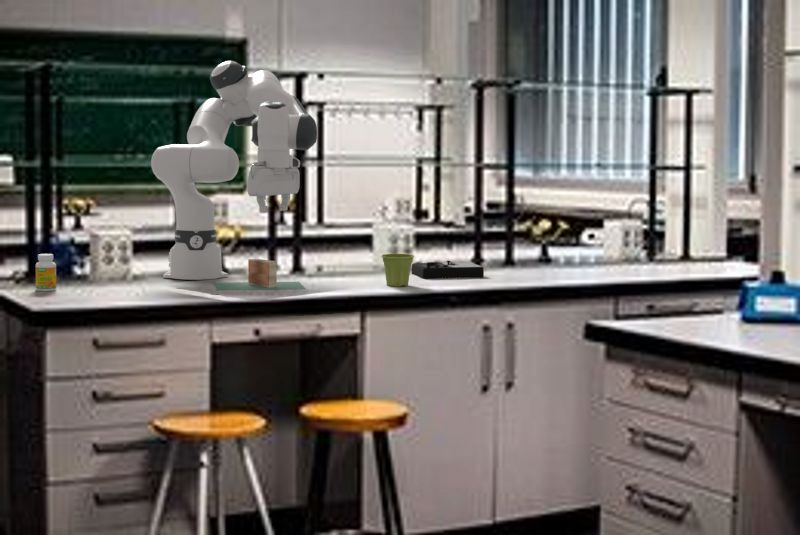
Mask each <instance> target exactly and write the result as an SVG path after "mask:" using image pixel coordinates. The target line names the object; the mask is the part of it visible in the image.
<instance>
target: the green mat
mask: <svg viewBox="0 0 800 535" xmlns="http://www.w3.org/2000/svg"><path fill="white" fill-rule="evenodd" d="M213 286H214V288H215V290H216V291H266V290H267V291H268V290H269V291H270V290H271V291H273V290H274V291H279V290H282V291H283V290H284V291H285V290H291V291H292V290H306V288H305V287H304V285H303V284H302V283H301V282H300V281H277V287H270V288H269V287H263V286H256V285H250V284H248V282H247V281H246V282H245V281H240V282H238V281H236V282H235V281H234V282H232V281H231V282H226V281H225V282H224V281H223V282H213ZM216 295H217V296H219V294H216Z"/></svg>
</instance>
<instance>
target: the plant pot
mask: <svg viewBox="0 0 800 535" xmlns="http://www.w3.org/2000/svg"><path fill="white" fill-rule="evenodd" d="M380 256H381V258H382V262H383V267H384V274H385V280H386V281H385V283H386V286H389V287H397V288H399V287H407V286H409V281H410V275H411V269H412V264H413V259H414V257H415V255H414V254H412V253H411V254H409V253H384V254H381V255H380Z"/></svg>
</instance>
